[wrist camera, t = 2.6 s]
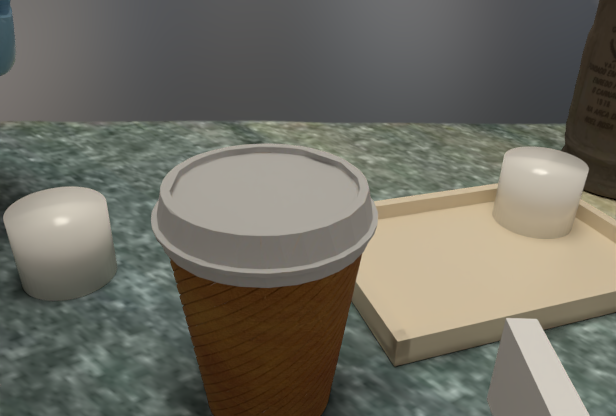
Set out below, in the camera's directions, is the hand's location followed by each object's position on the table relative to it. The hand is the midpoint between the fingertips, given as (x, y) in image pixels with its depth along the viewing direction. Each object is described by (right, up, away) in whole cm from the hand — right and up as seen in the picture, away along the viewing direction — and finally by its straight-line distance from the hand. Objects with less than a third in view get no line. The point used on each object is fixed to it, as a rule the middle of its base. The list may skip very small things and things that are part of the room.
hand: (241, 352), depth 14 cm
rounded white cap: (-14, -1, +23) cm, 27 cm away
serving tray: (+14, 0, +26) cm, 30 cm away
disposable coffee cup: (0, -6, +15) cm, 16 cm away
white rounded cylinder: (+20, +3, +30) cm, 36 cm away
